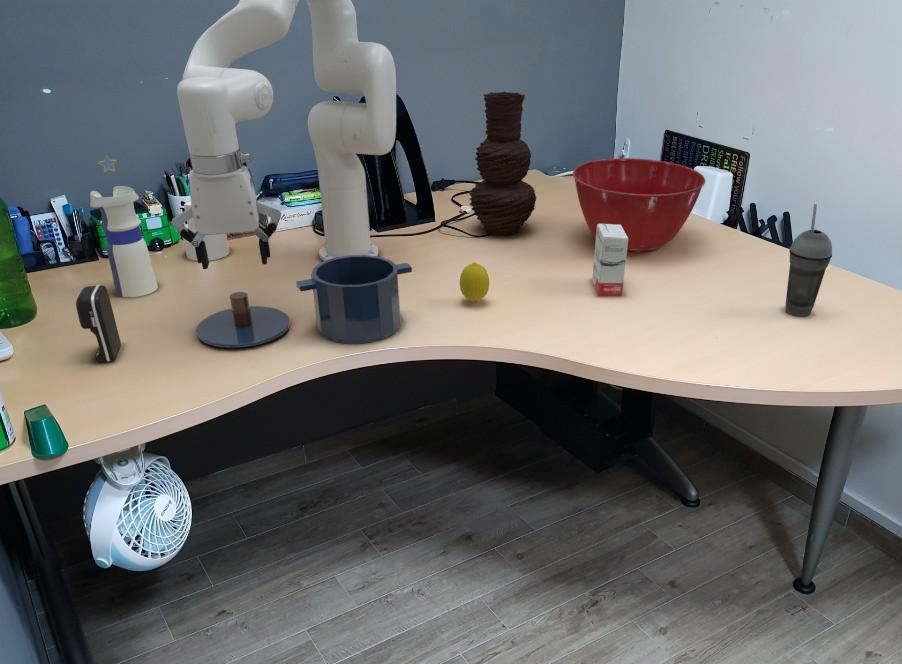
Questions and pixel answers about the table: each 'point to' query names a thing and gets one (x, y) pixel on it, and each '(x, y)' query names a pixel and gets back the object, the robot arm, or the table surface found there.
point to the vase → (503, 168)
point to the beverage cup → (807, 269)
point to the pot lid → (242, 324)
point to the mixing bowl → (638, 198)
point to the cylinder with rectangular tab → (206, 242)
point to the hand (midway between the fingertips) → (235, 263)
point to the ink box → (609, 259)
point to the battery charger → (99, 320)
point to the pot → (356, 298)
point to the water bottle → (124, 240)
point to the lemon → (474, 282)
